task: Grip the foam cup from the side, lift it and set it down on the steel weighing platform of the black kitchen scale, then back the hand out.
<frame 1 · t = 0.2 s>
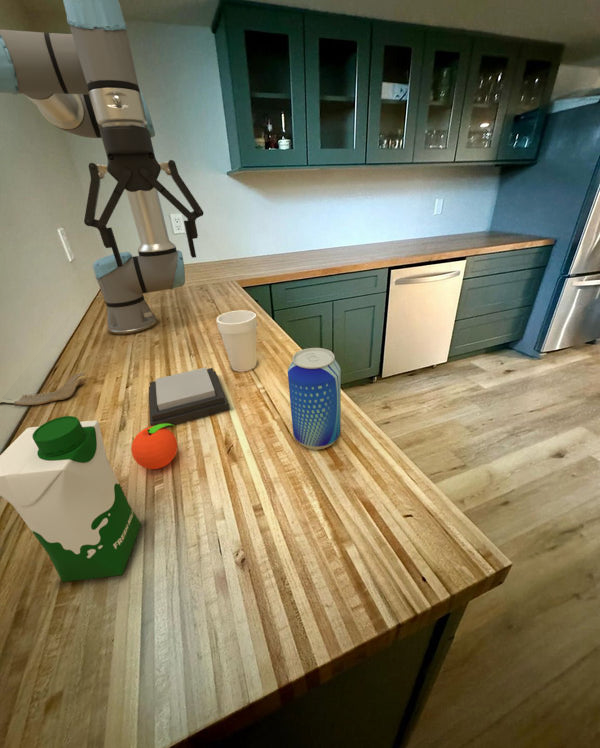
hand: (158, 261, 66), 28 cm above the table, tool pointing down, fingers open, 13 cm apart
milk carton: (104, 552, 43), on the table
foam cup: (244, 366, 85), on the table
beer can: (317, 437, 60), on the table
jawbone: (42, 393, 80), on the table
scale: (188, 401, 73), on the table
scale platform: (184, 387, 71), point 3 cm above the table, slide at 0.0 cm
clementine: (163, 461, 57), on the table
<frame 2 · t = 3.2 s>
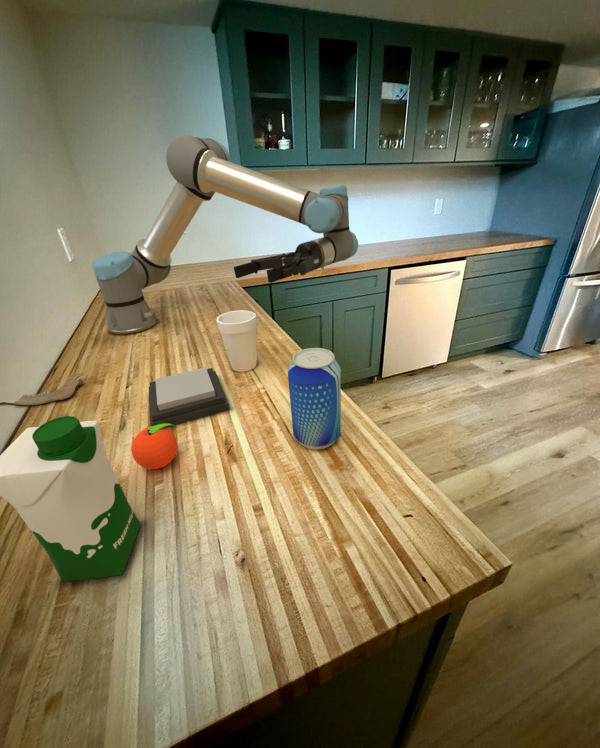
hand: (250, 274, 80), 21 cm above the table, tool horizontal, fingers open, 13 cm apart
nothing on the table moved.
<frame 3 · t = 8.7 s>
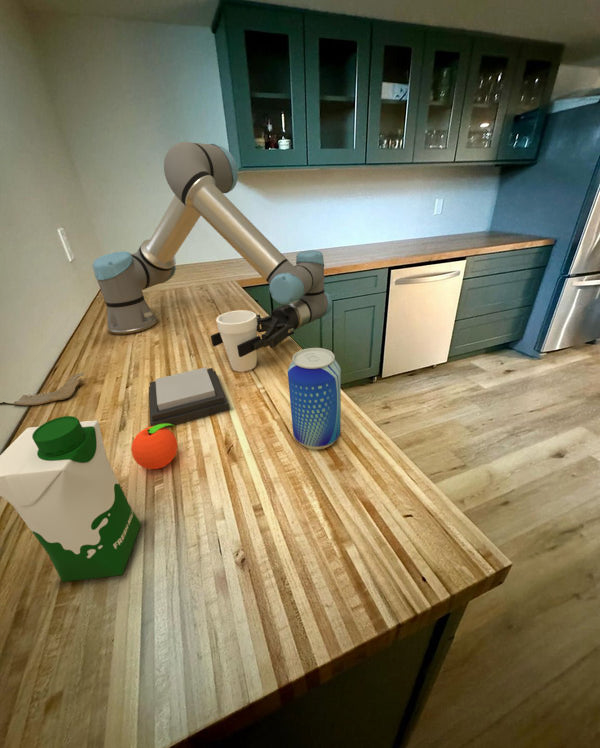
hand: (225, 346, 79), 7 cm above the table, tool horizontal, fingers closed on foam cup, 9 cm apart
foam cup: (244, 366, 85), on the table, touching gripper
everything else where it was.
when the fingers open (11 cm above the table, at t = 15.8 s): foam cup stays where it is, resting on scale platform.
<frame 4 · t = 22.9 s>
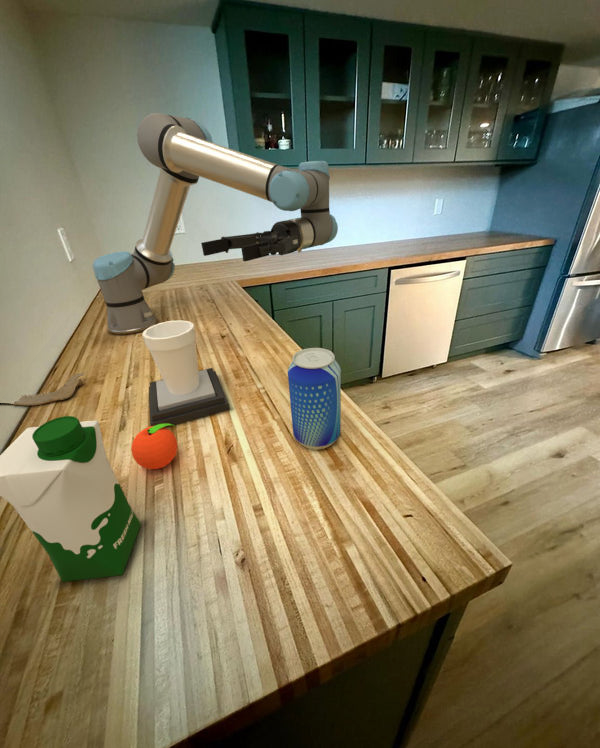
hand: (222, 251, 70), 28 cm above the table, tool horizontal, fingers open, 13 cm apart
foam cup: (184, 387, 71), point 3 cm above the table, touching scale platform
scale platform: (185, 390, 71), point 3 cm above the table, slide at -0.6 cm, touching foam cup
everything else where it was.
at the end: foam cup 0.0 cm off-centre on the scale, point 3.5 cm above the scale's base; foam cup tilted 0°; the gripper is holding nothing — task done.
